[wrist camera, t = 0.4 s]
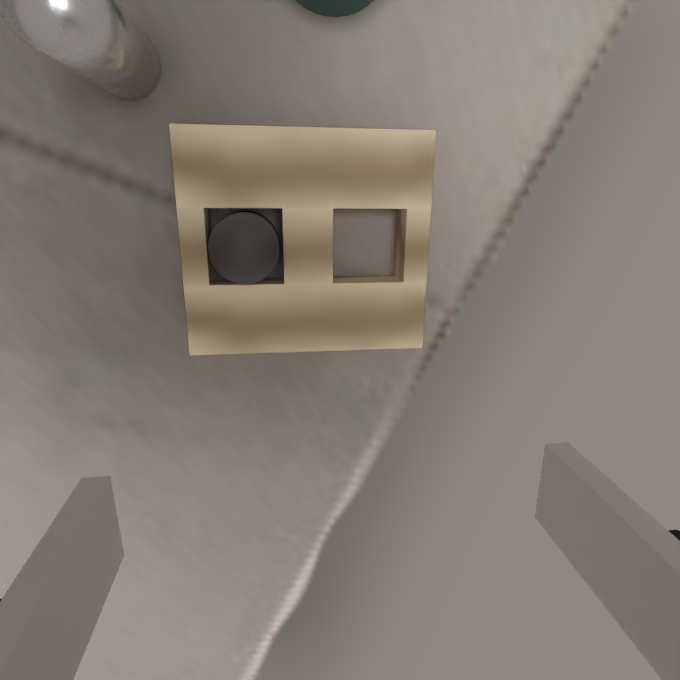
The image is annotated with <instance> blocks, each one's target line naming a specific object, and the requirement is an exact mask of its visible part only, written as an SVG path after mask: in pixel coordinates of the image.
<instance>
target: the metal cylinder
mask: <svg viewBox="0 0 680 680" xmlns="http://www.w3.org/2000/svg"><path fill="white" fill-rule="evenodd" d="M0 14H1V16H2V18H3V19H4V21H5V23H6V24H7V25H8V27H9V28H10V29H11V30H12V31H13V32H14V33H15V34H16V35H17V36H18V37H19V38H20V39H21V40H23V41H24V42H26V43H27V44H28V45H30V46H32V47H34V48H35V49H37V50H39V51H40V52H42V53H44V54H45V55H47V56H49V57H51V58H52V59H54V60H56V61H57V62H59V63H61V64H62V65H64V66H66V67H68V68H69V69H71V70H73V71H74V72H76V73H78V74H79V75H81V76H83V77H85V78H86V79H88V80H90V81H91V82H93V83H95V84H96V85H98V86H100V87H101V88H103V89H105V90H107V91H108V92H110V93H112V94H113V95H115V96H117V97H120V98H123V99H127V100H136V99H140V98H143V97H145V96H147V95H148V94H150V93H151V92H152V91H153V90H154V88H155V87H156V85H157V83H158V81H159V78H160V71H161V66H160V60H159V56H158V54H157V51H156V49H155V47H154V46H153V44H152V43H151V42H150V41H149V39H148V38H147V37H146V36H145V35H144V33H143V32H142V31H141V30H140V29H139V27H138V26H137V25H136V24H135V23H134V22H133V20H132V19H131V18H130V17H129V16H128V14H127V13H126V12H125V11H124V10H123V8H122V7H121V6H120V5H119V4H118V3H117V1H116V0H0Z"/></svg>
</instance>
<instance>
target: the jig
mask: <svg viewBox="0 0 680 680" xmlns="http://www.w3.org/2000/svg"><path fill="white" fill-rule="evenodd" d="M169 129H170V140H171V151H172V162H173V174H174V185H175V196H176V207H177V218H178V229H179V241H180V252H181V263H182V274H183V285H184V296H185V307H186V319H187V330H188V341H189V352H190V355H218V354H249V353H279V352H310V351H340V350H370V349H401V348H422V345H423V329H424V313H425V297H426V281H427V265H428V249H429V233H430V217H431V201H432V185H433V169H434V153H435V137H436V130H405V129H365V128H326V127H286V126H246V125H207V124H169ZM209 208H282V231H283V269H284V277H267V276H268V275H269V274H270V273H271V272H272V271H273V270H274V268H275V266H276V264H277V261H278V258H279V238H278V234H277V232H276V229H275V227H274V226H273V224H272V223H271V222H270V221H269V220H268V219H267V218H266V217H264V216H263V215H261V214H259V213H256V212H252V211H240V212H236V213H233V214H231V215H229V216H228V217H226V218H224V219H223V220H221V221H220V222H219V223H218V224H217V225H216V226H215V227H214V229H213V231H212V232H211V224H210V210H209ZM333 208H343V209H397V222H396V246H395V269H394V276H333ZM213 266H214V267H213ZM214 268H215V269H216V270H217V272H218V273H219V274H220V275H222V276H223V277H224V278H214Z"/></svg>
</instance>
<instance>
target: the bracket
mask: <svg viewBox="0 0 680 680" xmlns="http://www.w3.org/2000/svg"><path fill="white" fill-rule="evenodd" d="M296 1H297V2H298V3H300V4H301V5H303V6H304V7H305V8H307V9H308V10H311V11H313V12H315V13H317V14H320V15H324V16H330V17H341V16H347V15H351V14H353V13H356V12H358V11H360V10H362V9H363V8H365V7H366V6H368V5H369V4H370V3H371V2H372V1H373V0H296Z"/></svg>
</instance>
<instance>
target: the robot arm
mask: <svg viewBox="0 0 680 680" xmlns="http://www.w3.org/2000/svg"><path fill="white" fill-rule="evenodd" d="M535 518H536V519H537V520H538V522H539V523H540V524H541V526H542V527H543V528H544V529H545V531H546V532H547V533H548V534H549V536H550V537H551V538H552V540H553V541H554V542H555V543H556V545H557V546H558V547H559V548H560V550H561V551H562V552H563V554H564V555H565V556H566V558H567V559H568V560H569V561H570V563H571V564H572V565H573V566H574V568H575V569H576V570H577V571H578V573H579V574H580V575H581V577H582V578H583V579H584V580H585V582H586V583H587V585H588V586H589V587H590V588H591V590H592V591H593V592H594V593H595V595H596V596H597V597H598V598H599V600H600V601H601V602H602V604H603V605H604V606H605V608H606V609H607V610H608V611H609V613H610V614H611V615H612V617H613V618H614V619H615V620H616V622H617V623H618V624H619V625H620V627H621V628H622V629H623V631H624V632H625V633H626V635H627V636H628V637H629V638H630V640H631V641H632V642H633V644H634V645H635V646H636V647H637V649H638V650H639V651H640V652H641V654H642V655H643V656H644V657H645V659H646V660H647V661H648V663H649V664H650V665H651V667H652V668H653V669H654V670H655V672H656V673H657V674H658V676H659V677H660V678H661V679H662V680H680V531H678V530H669V531H668V530H667V529H666V528H665V527H663V526H662V525H661V524H660V523H659V522H658V521H657V520H655V519H654V518H653V517H652V516H651V515H650V514H648V513H647V512H646V511H645V510H644V509H643V508H642V507H641V506H640V505H638V504H637V503H636V502H635V501H634V500H633V499H632V498H631V497H629V496H628V495H627V494H626V493H625V492H624V491H622V490H621V489H620V488H619V487H618V486H617V485H616V484H615V483H614V482H612V481H611V480H610V479H609V478H608V477H607V476H606V475H604V474H603V473H602V472H601V471H600V470H598V468H597V467H595V466H594V465H593V464H592V463H591V462H590V461H589V460H587V459H586V458H585V457H584V456H583V455H582V454H581V453H580V452H578V451H577V450H576V449H575V448H574V447H573V446H571V445H570V444H569V443H568V442H564V443H551V444H545V449H544V456H543V463H542V470H541V477H540V484H539V491H538V498H537V505H536V511H535ZM123 557H124V551H123V546H122V540H121V534H120V529H119V523H118V517H117V512H116V506H115V501H114V495H113V489H112V484H111V478H110V476H105V477H91V478H81V480H80V482H79V483H78V485H77V486H76V488H75V489H74V491H73V492H72V494H71V495H70V497H69V498H68V500H67V501H66V503H65V504H64V506H63V507H62V509H61V510H60V512H59V513H58V515H57V516H56V518H55V519H54V521H53V522H52V524H51V525H50V527H49V528H48V530H47V532H46V533H45V535H44V536H43V538H42V539H41V541H40V542H39V544H38V545H37V547H36V548H35V550H34V551H33V553H32V554H31V556H30V557H29V559H28V560H27V562H26V563H25V565H24V566H23V568H22V569H21V571H20V572H19V574H18V575H17V577H16V579H15V580H14V582H13V583H12V585H11V586H10V588H9V589H8V591H7V592H6V594H5V595H4V597H3V598H2V599H0V680H73V679H74V677H75V674H76V672H77V669H78V667H79V664H80V662H81V659H82V657H83V655H84V652H85V650H86V647H87V645H88V642H89V640H90V637H91V635H92V633H93V630H94V628H95V625H96V623H97V620H98V618H99V615H100V613H101V610H102V608H103V606H104V603H105V601H106V598H107V596H108V593H109V591H110V588H111V586H112V584H113V581H114V579H115V576H116V574H117V571H118V569H119V566H120V564H121V562H122V559H123Z"/></svg>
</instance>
